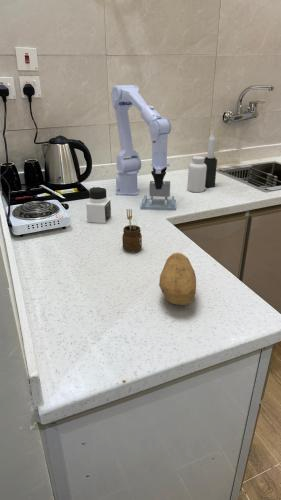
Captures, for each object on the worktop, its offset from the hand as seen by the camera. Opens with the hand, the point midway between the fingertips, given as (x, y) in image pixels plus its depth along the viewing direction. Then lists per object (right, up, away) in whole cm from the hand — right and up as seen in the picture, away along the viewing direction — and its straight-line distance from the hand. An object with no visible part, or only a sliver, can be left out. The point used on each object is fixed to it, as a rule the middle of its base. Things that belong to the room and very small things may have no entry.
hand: (158, 187), depth 142 cm
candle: (+25, +5, +27) cm, 37 cm away
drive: (0, -3, +1) cm, 3 cm away
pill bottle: (+18, +2, +22) cm, 28 cm away
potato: (+1, -37, -55) cm, 66 cm away
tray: (0, -7, +3) cm, 8 cm away
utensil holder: (-10, -25, -31) cm, 41 cm away
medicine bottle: (-23, -14, -10) cm, 28 cm away
